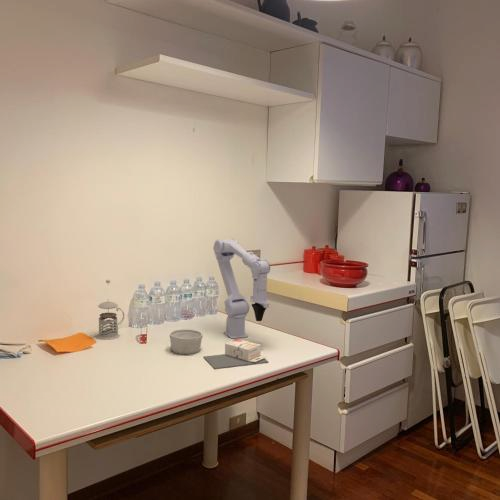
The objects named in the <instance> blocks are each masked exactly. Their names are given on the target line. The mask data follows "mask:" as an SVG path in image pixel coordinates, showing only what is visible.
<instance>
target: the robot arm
mask: <svg viewBox="0 0 500 500" xmlns="http://www.w3.org/2000/svg"><path fill="white" fill-rule="evenodd" d="M213 252H214V256H215V258H216V261H217V264H218V267H219V270H220V274H221V277H222V280H223V284H224V288H225V291H226V294H227V298H226V299H225V301H224V307H225V309H224V311H225V313H226V316H227V317H226V321H225V322H226V324H225V325H226V329H225V331H223V333H224V334H225V335H226V336H228V337H229V338H231V339H242V338H248V337H249V336H248V335H247V334H246V333H245V332H246V331H245V330H246V329H245V328H246V317H247V316H248V315H247V314H249V312H250V304H249V302H248V301H247V299H246V297H245V295H243V294H241V293H240V290H239V287H238V283H237V281H236V276H235V273H234V271H233V267H232V264H231V260H232V259H233V258H234V257H235V255H236V256H237V257H239V258H240V259H241V261H242V263H243V264H244V265H245V266H247V267H248V268H249V269H250V272H251V275H252V276H251V277H252V279H253V282H252V286H253V287H252V295H250V300H249V301H250V302H251V307H252V309H253V312H254V317H255V321H256V322H262V321H263V317H264V314H265V311H266V310H267V309H268V308H270V302H269V301H268V298H267V293H268V292H267V291H268V290H267V289H268V288H267V286H268V274H269V273H270V271H271V264H270V263H269V261H268V260H266V259H264V260H263V259H261V258H260V257H258V256H257V255H256V254H254V251H248V252H247V251H246V250H245V249H244V248H243V247H242V246H241V245H240V243H239V241H238V240H237V239H235V238H230V239H216V240H215V241H214V243H213Z"/></svg>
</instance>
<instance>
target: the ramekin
mask: <svg viewBox="0 0 500 500" xmlns="http://www.w3.org/2000/svg"><path fill="white" fill-rule="evenodd" d="M169 340H170V348H171V351H172V352H174V353H175V354H179V355H194V354H196V353H199V351H200V350H201V346H202V340H203V332H201V331H200V330H195V329H191V328H190V329H189V328H187V329H186V328H183V329H182V328H181V329H175V330H172V331H170V332H169Z"/></svg>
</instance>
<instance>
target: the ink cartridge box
mask: <svg viewBox="0 0 500 500" xmlns="http://www.w3.org/2000/svg"><path fill="white" fill-rule="evenodd" d="M261 348H262V345H261V344H260V343H255V342H252V341H249V340H243V339H242V338H235V339H234V340H230V341H227V342H225V343H224V354H225V355H228V356H232V357H235V358H239V359H242V360H246V361H250V362H257V361H259V360H262V359H264V358H265V359H266V358H267V356H263V355H261V350H262V349H261ZM260 355H261V356H260ZM259 358H260V359H259ZM256 359H257V360H256Z"/></svg>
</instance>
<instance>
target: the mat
mask: <svg viewBox="0 0 500 500" xmlns="http://www.w3.org/2000/svg"><path fill="white" fill-rule="evenodd" d="M260 356H262V355H261V354H260ZM203 359H204V360H205V361H206V362H207V363H208V364H209V365H210V366H211V367H212V368H213V369H214V370H221V369H228V368H235V367H245V366H252V365H259V364H260V365H263V364H268V363H270V362H269V360H267V359H266V358H264V359H262V360H259V361H257V362H250V361H246V360H242V359H239V358H235V357H232V356H228V355H225V353H223V354H213V355H204V356H203ZM259 359H260V358H259ZM256 360H257V359H256Z"/></svg>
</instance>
